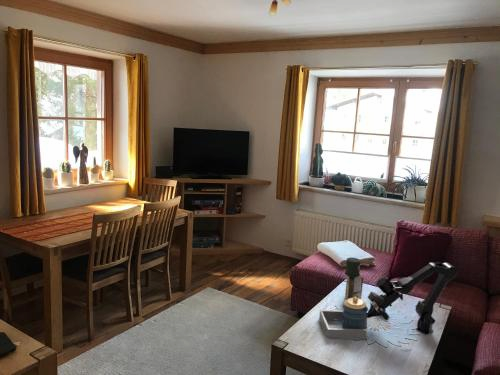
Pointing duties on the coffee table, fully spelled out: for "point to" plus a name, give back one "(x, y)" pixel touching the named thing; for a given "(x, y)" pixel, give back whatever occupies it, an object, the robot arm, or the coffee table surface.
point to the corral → (339, 333)
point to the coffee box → (355, 287)
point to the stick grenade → (352, 273)
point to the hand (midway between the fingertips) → (365, 317)
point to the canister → (354, 314)
